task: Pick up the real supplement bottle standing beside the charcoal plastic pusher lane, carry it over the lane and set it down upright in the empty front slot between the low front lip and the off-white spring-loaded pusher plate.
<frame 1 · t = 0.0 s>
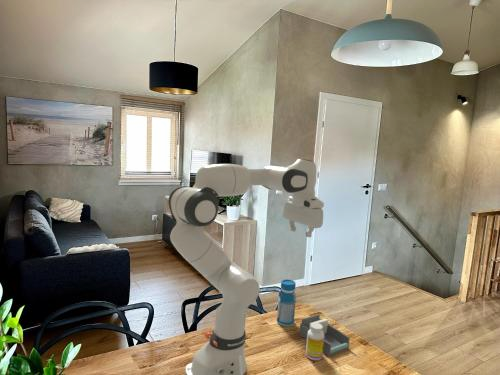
hand: (300, 233, 136), 48 cm above the table, fingers open, 8 cm apart
pusher plate: (318, 328, 149), point 4 cm above the table, slide at 0.0 cm
pusher lane: (323, 341, 146), on the table
beverage bottle: (285, 322, 160), on the table
supplement bottle: (313, 356, 135), on the table
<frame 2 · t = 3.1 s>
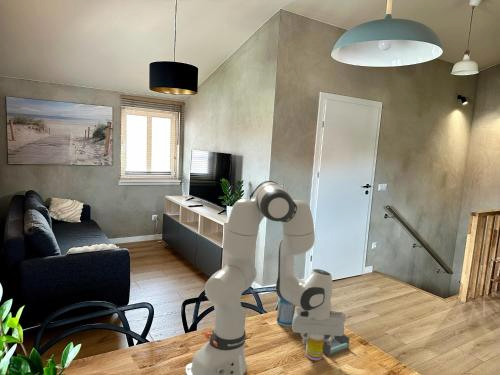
hand: (316, 343, 134), 6 cm above the table, fingers open, 8 cm apart
nothing on the table moved.
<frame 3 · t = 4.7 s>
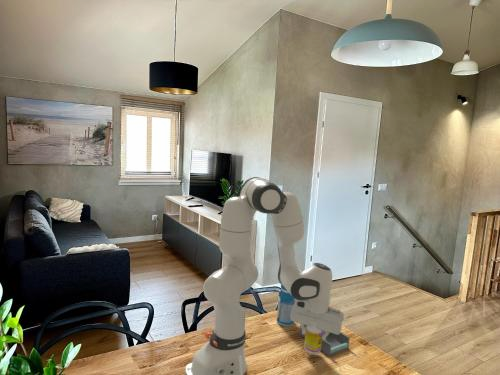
hand: (313, 336, 135), 8 cm above the table, fingers closed on supplement bottle, 6 cm apart
supplement bottle: (312, 350, 135), point 2 cm above the table, touching gripper
everything else where it was.
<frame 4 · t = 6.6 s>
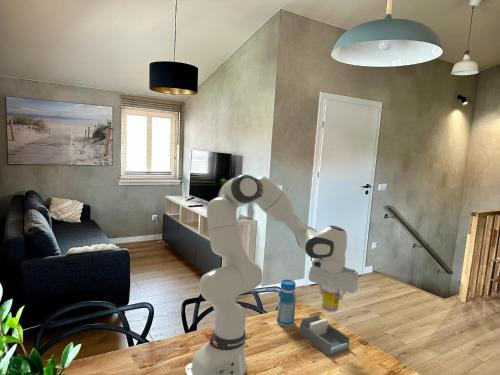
hand: (331, 296, 142), 21 cm above the table, fingers closed on supplement bottle, 6 cm apart
supplement bottle: (329, 309, 143), point 15 cm above the table, touching gripper
everything else where it was.
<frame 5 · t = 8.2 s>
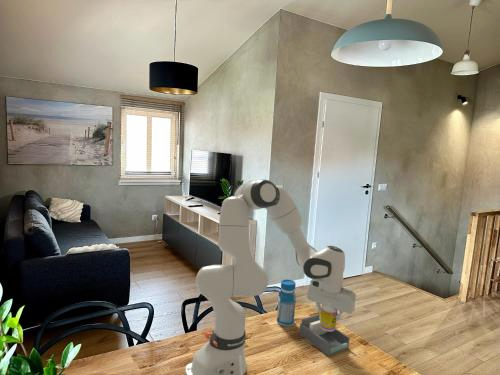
hand: (328, 315, 143), 12 cm above the table, fingers closed on supplement bottle, 7 cm apart
supplement bottle: (327, 328, 144), point 7 cm above the table, touching gripper
everything else where it was.
when the fingers open (8 cm above the table, at t = 9.8 s): supplement bottle stays where it is, resting on pusher lane.
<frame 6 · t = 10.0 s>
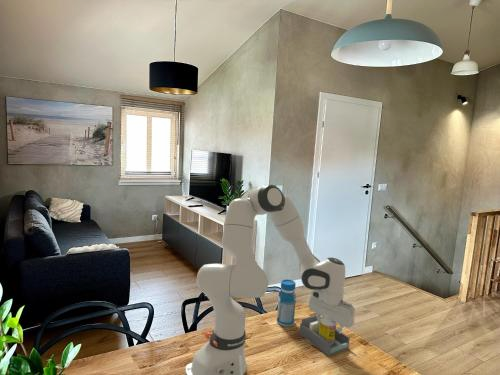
hand: (329, 327, 143), 8 cm above the table, fingers open, 8 cm apart
supplement bottle: (326, 341, 144), point 1 cm above the table, touching gripper, pusher lane
everything else where it was.
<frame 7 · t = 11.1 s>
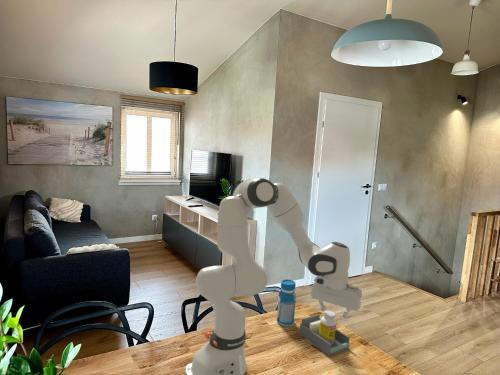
hand: (334, 313, 140), 15 cm above the table, fingers open, 8 cm apart
supplement bottle: (326, 341, 144), point 1 cm above the table, touching pusher lane
everything else where it was.
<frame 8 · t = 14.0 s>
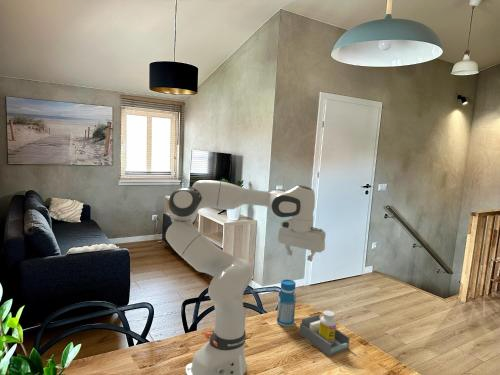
hand: (299, 257, 140), 37 cm above the table, fingers open, 8 cm apart
nothing on the table moved.
at the end: supplement bottle inside the target area on the pusher lane (0.6 cm from its centre), point 0.8 cm above the pusher lane's base; supplement bottle tilted 0°; the gripper is holding nothing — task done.
